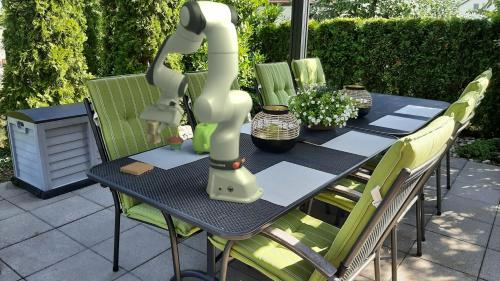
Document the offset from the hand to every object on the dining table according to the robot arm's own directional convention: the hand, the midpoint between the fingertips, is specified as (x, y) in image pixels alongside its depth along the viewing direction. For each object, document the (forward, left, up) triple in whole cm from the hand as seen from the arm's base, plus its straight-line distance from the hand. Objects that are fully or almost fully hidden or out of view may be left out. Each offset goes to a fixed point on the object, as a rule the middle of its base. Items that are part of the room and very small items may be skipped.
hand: (152, 131), depth 165 cm
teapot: (-8, -38, -18) cm, 42 cm away
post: (0, -1, -5) cm, 5 cm away
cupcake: (+10, -29, -18) cm, 35 cm away
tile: (+5, +5, -18) cm, 20 cm away
